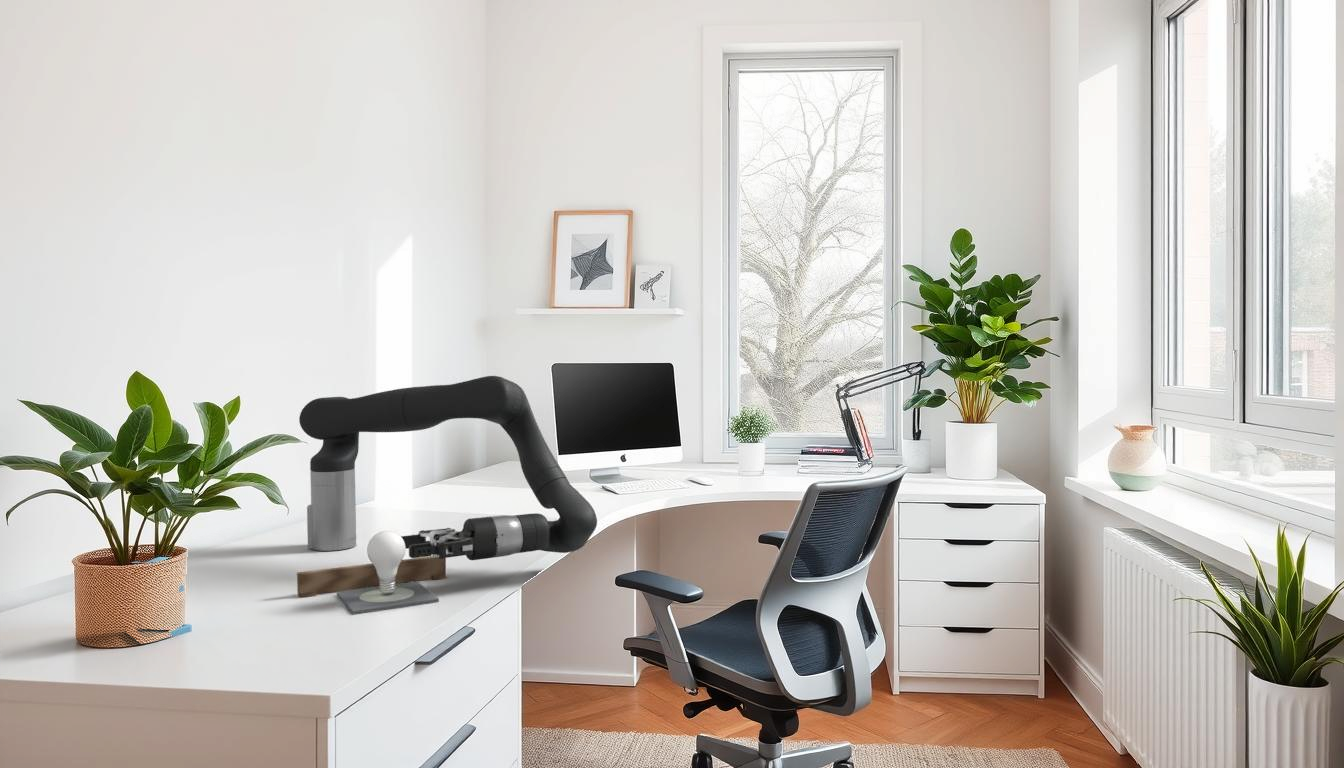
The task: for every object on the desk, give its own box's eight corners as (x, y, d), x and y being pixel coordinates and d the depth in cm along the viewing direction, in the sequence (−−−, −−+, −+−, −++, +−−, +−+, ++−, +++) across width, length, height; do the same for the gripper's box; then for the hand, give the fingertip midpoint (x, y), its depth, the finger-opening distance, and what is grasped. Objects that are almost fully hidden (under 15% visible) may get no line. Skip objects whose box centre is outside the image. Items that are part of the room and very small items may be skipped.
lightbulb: (400, 598, 151) (398, 534, 151) (362, 599, 151) (361, 535, 151) (411, 589, 157) (409, 527, 157) (375, 589, 157) (374, 527, 157)
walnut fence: (299, 598, 155) (299, 575, 155) (296, 594, 157) (296, 571, 157) (447, 578, 168) (446, 557, 168) (442, 574, 171) (442, 554, 170)
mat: (353, 614, 144) (353, 610, 144) (337, 595, 156) (337, 591, 156) (438, 601, 152) (438, 597, 152) (417, 584, 164) (417, 580, 164)
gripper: (479, 511, 169) (393, 520, 161) (505, 522, 157) (413, 532, 149) (480, 550, 170) (393, 561, 161) (506, 564, 157) (414, 577, 149)
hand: (403, 547), depth 155 cm, fingers open, 8 cm apart
